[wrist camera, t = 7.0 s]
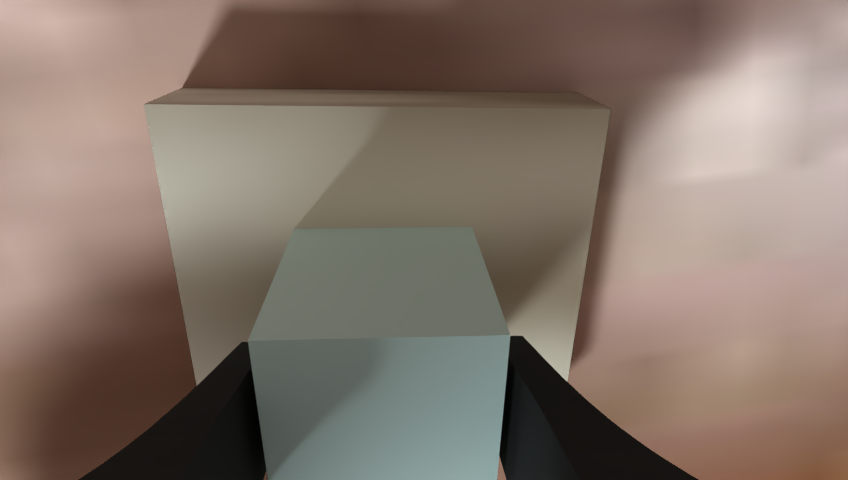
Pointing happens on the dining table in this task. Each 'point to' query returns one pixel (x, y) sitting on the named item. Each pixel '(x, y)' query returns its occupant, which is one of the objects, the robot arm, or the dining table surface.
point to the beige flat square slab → (376, 192)
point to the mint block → (381, 357)
